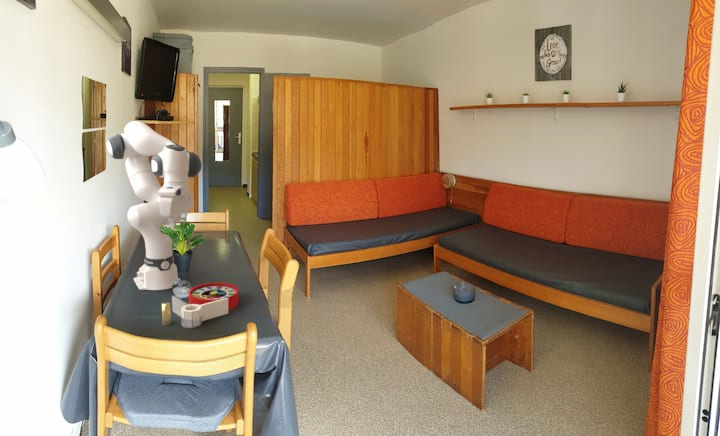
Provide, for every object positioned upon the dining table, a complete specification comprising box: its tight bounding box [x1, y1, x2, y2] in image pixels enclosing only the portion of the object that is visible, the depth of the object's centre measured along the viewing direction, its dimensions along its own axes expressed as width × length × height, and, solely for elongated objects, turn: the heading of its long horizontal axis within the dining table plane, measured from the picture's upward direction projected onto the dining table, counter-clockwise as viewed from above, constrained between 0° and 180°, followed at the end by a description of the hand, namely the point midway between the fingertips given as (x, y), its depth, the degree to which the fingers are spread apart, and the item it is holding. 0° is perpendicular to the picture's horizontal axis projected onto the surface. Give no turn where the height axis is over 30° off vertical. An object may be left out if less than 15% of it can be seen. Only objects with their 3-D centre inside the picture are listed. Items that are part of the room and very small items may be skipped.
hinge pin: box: [161, 301, 172, 326], centre depth 171 cm, size 3×3×8 cm
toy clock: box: [188, 282, 240, 311], centre depth 192 cm, size 20×6×20 cm
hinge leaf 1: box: [171, 295, 203, 329], centre depth 176 cm, size 19×7×6 cm, turn 47°
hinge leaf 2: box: [180, 298, 229, 322], centre depth 176 cm, size 7×19×6 cm, turn 137°
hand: (178, 224), depth 173 cm, fingers open, 8 cm apart
